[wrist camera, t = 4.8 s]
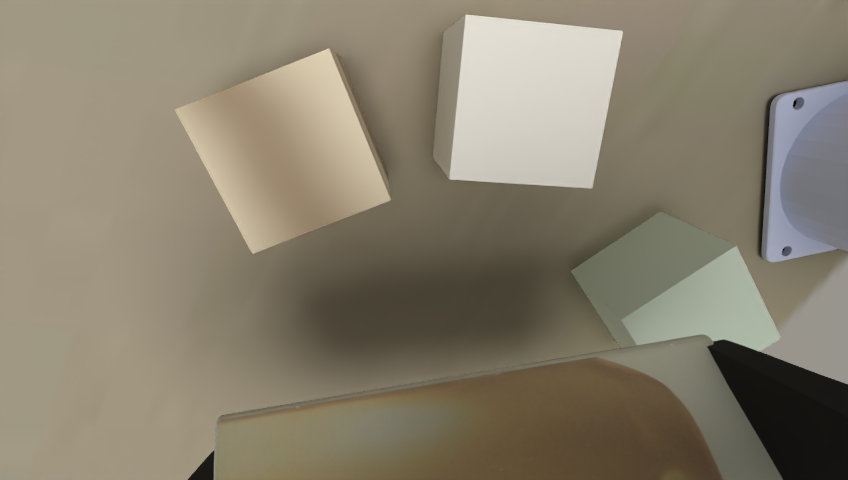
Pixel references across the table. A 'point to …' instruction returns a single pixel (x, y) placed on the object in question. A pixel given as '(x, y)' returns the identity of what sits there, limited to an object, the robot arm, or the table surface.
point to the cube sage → (675, 287)
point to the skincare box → (514, 425)
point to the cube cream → (523, 101)
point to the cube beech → (289, 150)
